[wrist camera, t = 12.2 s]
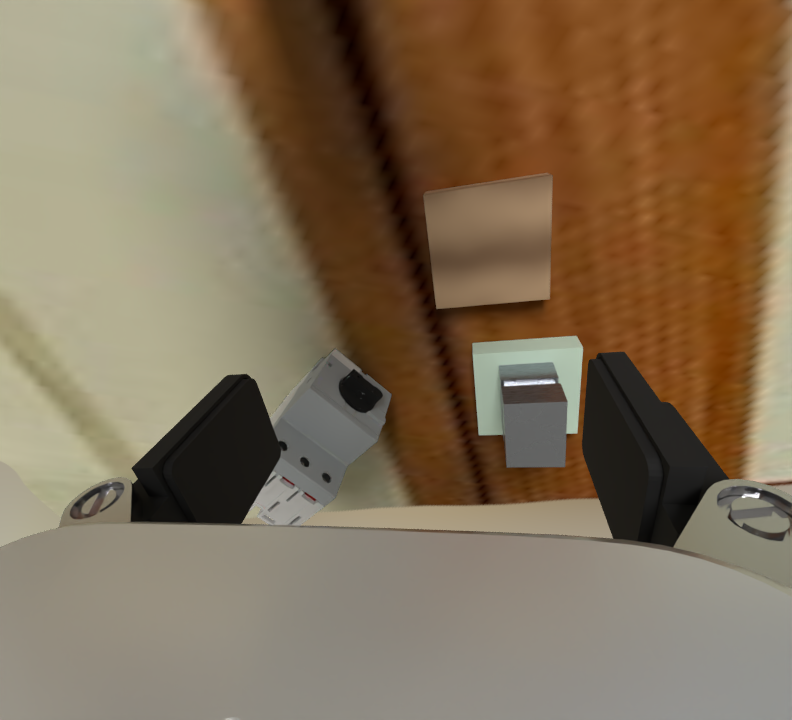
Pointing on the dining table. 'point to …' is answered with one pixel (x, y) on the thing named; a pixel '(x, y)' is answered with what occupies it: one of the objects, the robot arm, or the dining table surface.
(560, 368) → the stand green
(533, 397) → the block
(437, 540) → the robot arm
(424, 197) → the stand walnut
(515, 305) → the dining table surface
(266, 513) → the circuit breaker
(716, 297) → the dining table surface
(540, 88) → the dining table surface
